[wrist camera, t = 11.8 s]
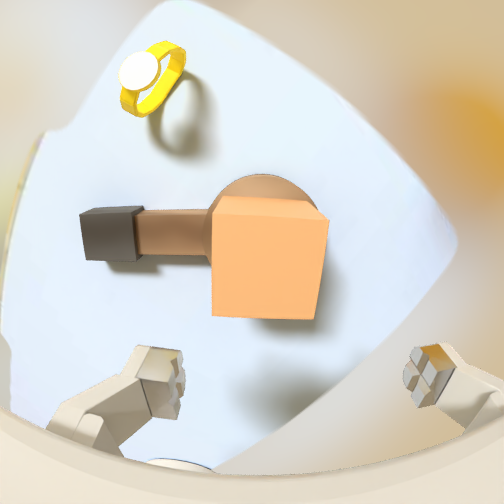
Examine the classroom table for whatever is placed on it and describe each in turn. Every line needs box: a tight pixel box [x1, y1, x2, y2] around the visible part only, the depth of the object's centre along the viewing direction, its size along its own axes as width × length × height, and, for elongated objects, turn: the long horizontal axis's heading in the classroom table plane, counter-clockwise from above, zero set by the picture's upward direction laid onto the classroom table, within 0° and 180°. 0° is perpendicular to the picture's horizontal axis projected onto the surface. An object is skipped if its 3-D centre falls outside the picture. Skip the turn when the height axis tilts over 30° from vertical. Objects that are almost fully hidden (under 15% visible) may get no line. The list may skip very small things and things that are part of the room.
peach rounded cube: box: [212, 196, 329, 319], centre depth 18 cm, size 6×6×6 cm
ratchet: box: [79, 174, 318, 266], centre depth 20 cm, size 9×20×6 cm, turn 89°
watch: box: [119, 41, 186, 118], centre depth 16 cm, size 6×3×6 cm, turn 146°
